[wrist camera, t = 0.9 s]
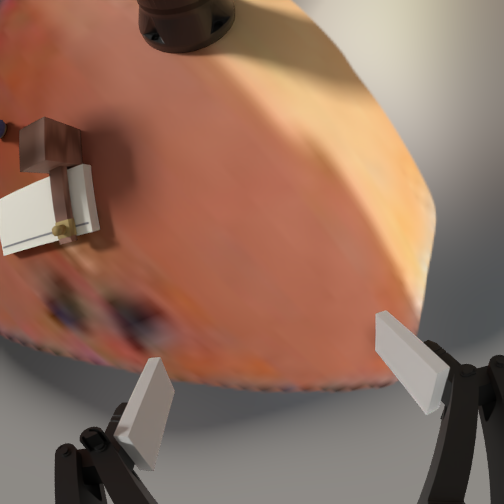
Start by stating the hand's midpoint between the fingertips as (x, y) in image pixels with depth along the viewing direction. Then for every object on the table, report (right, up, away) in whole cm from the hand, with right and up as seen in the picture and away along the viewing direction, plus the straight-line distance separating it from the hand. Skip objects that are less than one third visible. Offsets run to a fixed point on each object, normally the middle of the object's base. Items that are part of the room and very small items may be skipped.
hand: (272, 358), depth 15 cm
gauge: (-29, +16, +20) cm, 39 cm away
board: (-35, +13, +21) cm, 43 cm away
